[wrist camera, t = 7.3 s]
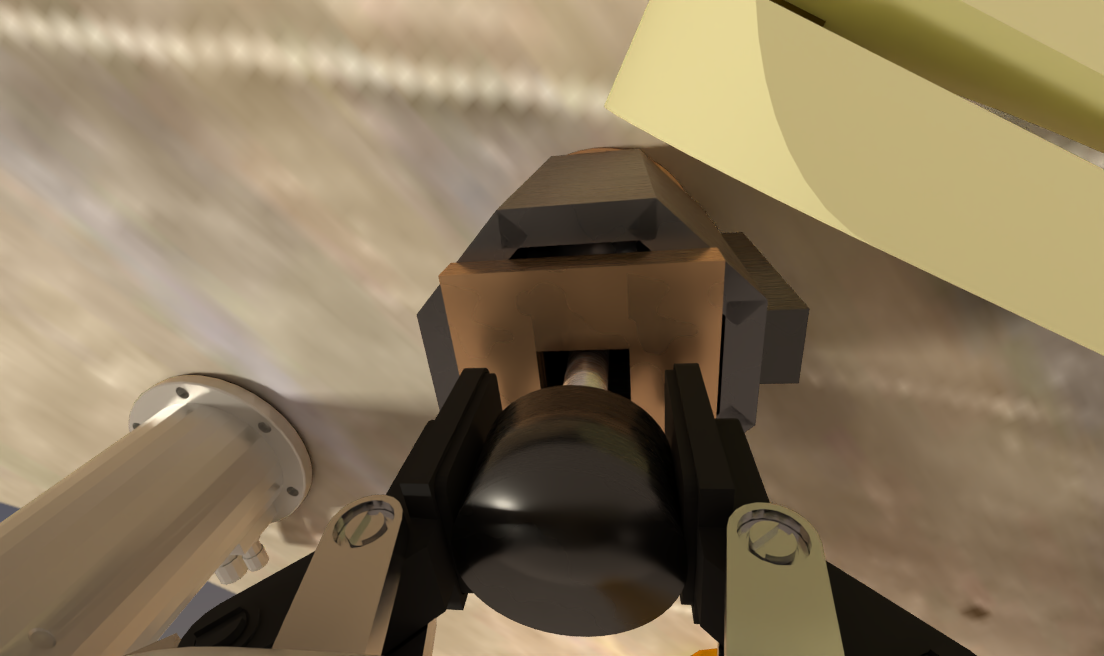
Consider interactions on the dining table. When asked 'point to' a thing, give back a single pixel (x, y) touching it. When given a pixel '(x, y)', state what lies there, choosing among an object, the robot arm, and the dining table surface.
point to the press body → (614, 292)
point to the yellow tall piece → (706, 652)
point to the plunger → (574, 503)
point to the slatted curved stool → (901, 130)
